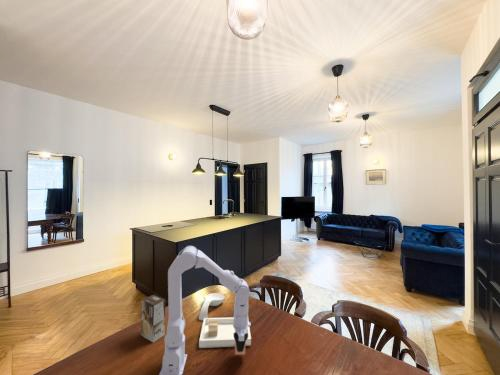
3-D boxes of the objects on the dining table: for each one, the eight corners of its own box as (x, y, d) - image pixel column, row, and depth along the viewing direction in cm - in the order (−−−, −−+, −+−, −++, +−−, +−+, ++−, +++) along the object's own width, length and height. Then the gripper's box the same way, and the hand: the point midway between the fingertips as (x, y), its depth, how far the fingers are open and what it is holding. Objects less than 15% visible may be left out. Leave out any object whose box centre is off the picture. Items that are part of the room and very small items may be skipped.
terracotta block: (245, 354, 84) (245, 341, 84) (234, 354, 84) (235, 341, 84) (244, 346, 88) (244, 334, 88) (234, 347, 88) (235, 334, 88)
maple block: (217, 336, 97) (217, 325, 97) (208, 336, 96) (208, 325, 96) (217, 330, 101) (217, 319, 101) (209, 330, 100) (209, 320, 100)
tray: (250, 346, 92) (251, 338, 92) (198, 347, 90) (199, 340, 90) (247, 322, 108) (248, 317, 108) (203, 324, 106) (204, 318, 106)
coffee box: (165, 334, 98) (166, 299, 98) (152, 343, 92) (154, 305, 92) (152, 327, 102) (153, 294, 103) (139, 335, 97) (141, 299, 97)
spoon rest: (208, 297, 133) (208, 285, 133) (226, 299, 131) (227, 287, 131) (192, 320, 110) (192, 306, 110) (214, 322, 108) (214, 308, 108)
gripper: (252, 323, 79) (251, 360, 79) (249, 302, 94) (248, 334, 93) (233, 324, 78) (232, 361, 78) (233, 303, 93) (232, 334, 93)
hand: (239, 346), depth 86 cm, fingers closed on terracotta block, 4 cm apart
